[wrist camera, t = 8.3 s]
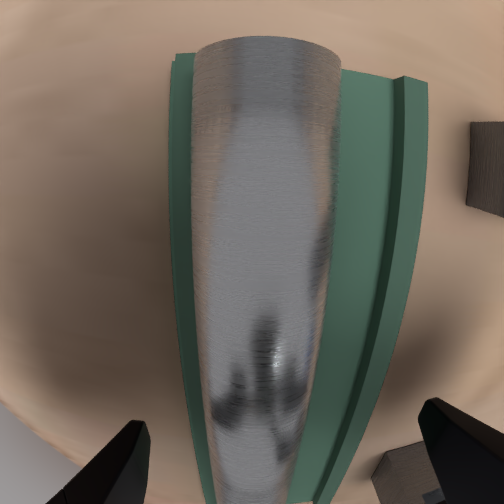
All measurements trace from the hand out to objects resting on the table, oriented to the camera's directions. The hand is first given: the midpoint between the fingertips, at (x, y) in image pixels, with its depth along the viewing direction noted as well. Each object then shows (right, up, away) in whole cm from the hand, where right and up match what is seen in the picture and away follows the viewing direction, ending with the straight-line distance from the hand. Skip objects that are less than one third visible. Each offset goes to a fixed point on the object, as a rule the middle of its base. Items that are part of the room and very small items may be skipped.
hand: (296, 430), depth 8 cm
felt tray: (0, +1, +2) cm, 2 cm away
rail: (0, 0, +1) cm, 1 cm away
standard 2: (+9, -7, +5) cm, 12 cm away
